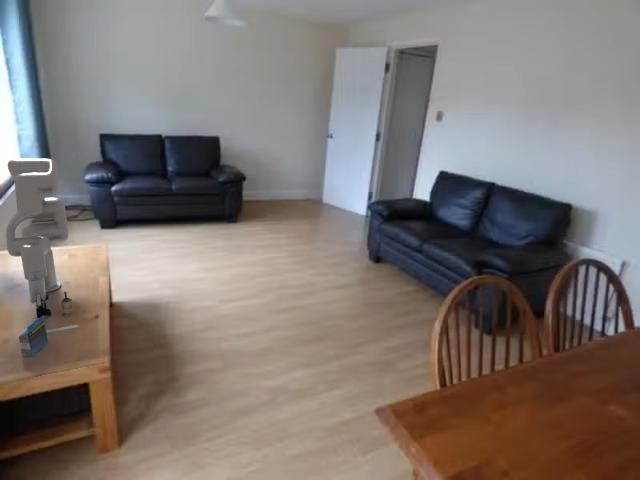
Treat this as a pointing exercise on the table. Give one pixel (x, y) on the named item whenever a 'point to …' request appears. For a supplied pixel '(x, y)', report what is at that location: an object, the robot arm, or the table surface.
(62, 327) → the flat metal tool blade
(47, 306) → the push button
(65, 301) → the awl
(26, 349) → the label tape cartridge
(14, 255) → the robot arm
